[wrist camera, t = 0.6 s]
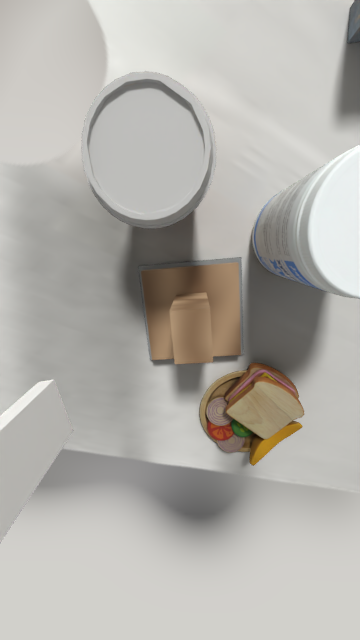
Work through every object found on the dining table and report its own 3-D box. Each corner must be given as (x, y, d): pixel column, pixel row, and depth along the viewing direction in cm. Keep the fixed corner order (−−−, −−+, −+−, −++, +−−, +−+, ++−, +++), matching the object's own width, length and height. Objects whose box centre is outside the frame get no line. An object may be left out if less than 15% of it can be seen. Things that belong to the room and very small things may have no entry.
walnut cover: (153, 356, 34) (138, 395, 25) (142, 270, 31) (121, 279, 22) (239, 351, 33) (255, 389, 24) (236, 262, 30) (254, 268, 21)
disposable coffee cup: (223, 208, 29) (242, 183, 17) (149, 249, 30) (120, 251, 19) (183, 120, 27) (175, 24, 15) (106, 169, 28) (45, 117, 17)
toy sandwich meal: (180, 406, 36) (178, 429, 32) (255, 342, 33) (264, 358, 29) (241, 460, 38) (247, 489, 34) (317, 405, 35) (335, 429, 31)
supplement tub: (246, 276, 31) (291, 301, 17) (254, 187, 28) (314, 127, 14) (331, 277, 30) (450, 305, 16) (347, 187, 28) (506, 126, 13)
